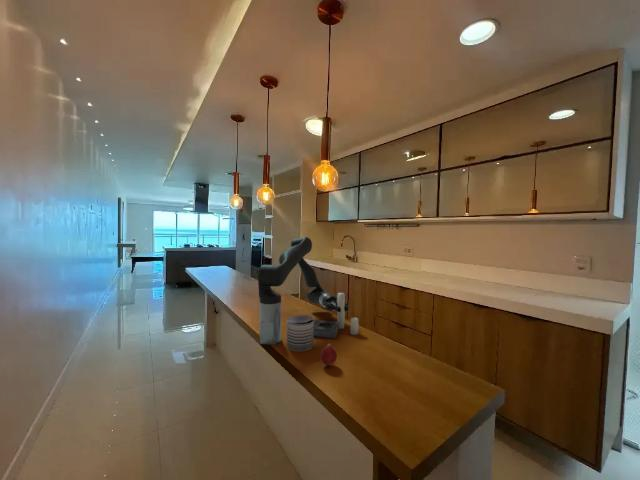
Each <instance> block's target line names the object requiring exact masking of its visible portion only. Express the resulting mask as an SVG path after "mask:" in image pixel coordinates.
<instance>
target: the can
mask: <svg viewBox="0 0 640 480" xmlns="http://www.w3.org/2000/svg"><path fill="white" fill-rule="evenodd" d="M313 335H314V315H309V314H300V315H298V314H297V315H294V316H290V317H288V318H287V319H286V348H287V349H288V350H291V351H292V352H306V351H310V350H312V348H313V347H314V336H313Z"/></svg>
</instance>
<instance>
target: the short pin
mask: <svg viewBox="0 0 640 480" xmlns="http://www.w3.org/2000/svg"><path fill="white" fill-rule="evenodd" d="M350 335H352V336H356V335H359V318H357V317H351V318H350Z"/></svg>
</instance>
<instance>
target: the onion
mask: <svg viewBox="0 0 640 480" xmlns="http://www.w3.org/2000/svg"><path fill="white" fill-rule="evenodd" d="M337 357H338V353H337V351H336V349H335V348H334V347H332V345H331V343H328V344H327V345H326V346H324V347H323V349H322V350H321V353H320V360H321V362H322V363H323V364H324V365H326V366H328V367H330V366H332V365H333V364H334V363H335V362H336V361H337Z"/></svg>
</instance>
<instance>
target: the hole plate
mask: <svg viewBox="0 0 640 480" xmlns="http://www.w3.org/2000/svg"><path fill="white" fill-rule="evenodd" d="M313 320H314V319H313ZM338 332H339V328H338V322H337V321H336V320H322V319H321V320H319V319H315V320H314V335H313V337H315V338H316V337H317V338H318V337H319V338H331V339H333V338H334V339H336V338H337V335H338Z"/></svg>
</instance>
